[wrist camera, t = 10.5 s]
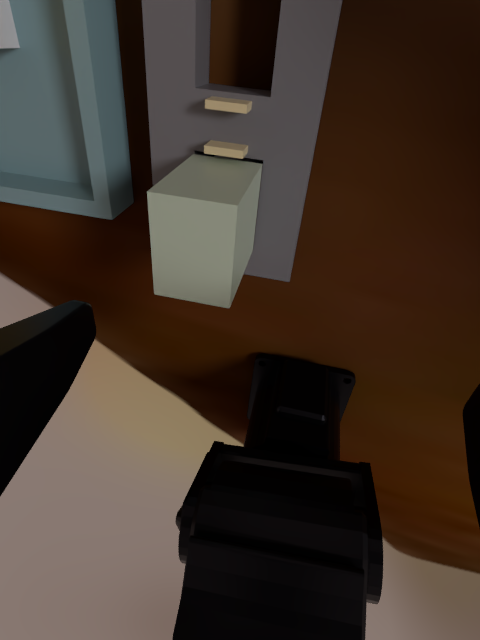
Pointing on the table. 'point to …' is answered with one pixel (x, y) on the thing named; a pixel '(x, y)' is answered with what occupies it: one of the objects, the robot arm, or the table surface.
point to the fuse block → (242, 111)
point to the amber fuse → (7, 27)
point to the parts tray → (64, 110)
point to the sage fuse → (203, 227)
